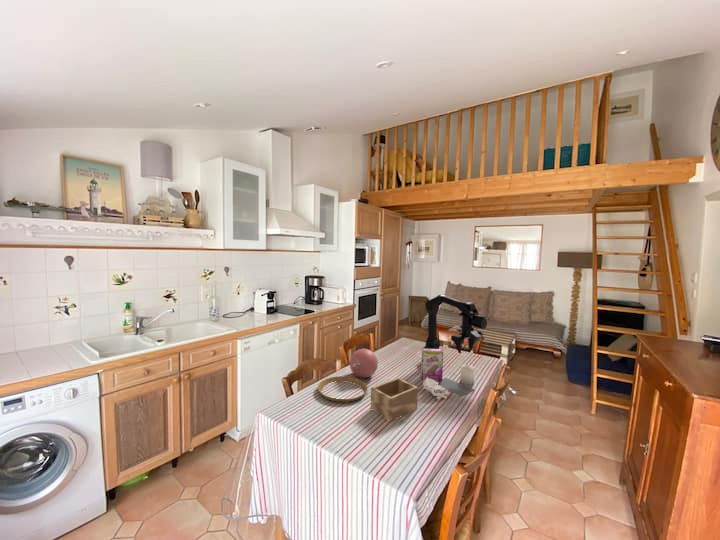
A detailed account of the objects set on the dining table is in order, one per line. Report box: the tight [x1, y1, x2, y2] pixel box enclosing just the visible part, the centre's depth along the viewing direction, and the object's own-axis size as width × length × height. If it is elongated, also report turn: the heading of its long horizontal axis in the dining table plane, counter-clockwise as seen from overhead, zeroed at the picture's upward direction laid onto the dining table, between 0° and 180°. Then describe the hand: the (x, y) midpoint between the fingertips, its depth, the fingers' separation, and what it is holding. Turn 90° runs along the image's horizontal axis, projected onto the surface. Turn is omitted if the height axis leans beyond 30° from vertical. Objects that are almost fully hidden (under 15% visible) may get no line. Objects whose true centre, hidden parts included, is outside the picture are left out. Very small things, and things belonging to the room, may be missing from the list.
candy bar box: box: [420, 347, 444, 382], centre depth 163 cm, size 11×5×16 cm, turn 84°
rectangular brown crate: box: [370, 377, 419, 422], centre depth 131 cm, size 12×17×10 cm
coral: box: [422, 377, 450, 400], centre depth 145 cm, size 12×7×12 cm
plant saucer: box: [317, 375, 368, 403], centre depth 146 cm, size 24×24×3 cm
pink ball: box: [349, 348, 379, 379], centre depth 162 cm, size 15×20×15 cm
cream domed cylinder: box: [459, 364, 476, 385], centre depth 162 cm, size 7×7×8 cm
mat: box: [436, 377, 475, 397], centre depth 154 cm, size 17×16×1 cm
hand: (465, 351), depth 168 cm, fingers open, 9 cm apart
